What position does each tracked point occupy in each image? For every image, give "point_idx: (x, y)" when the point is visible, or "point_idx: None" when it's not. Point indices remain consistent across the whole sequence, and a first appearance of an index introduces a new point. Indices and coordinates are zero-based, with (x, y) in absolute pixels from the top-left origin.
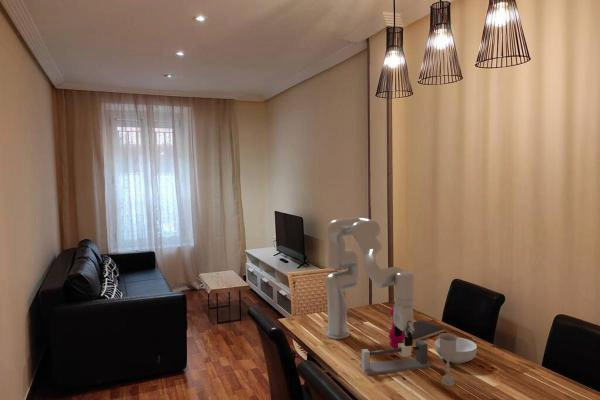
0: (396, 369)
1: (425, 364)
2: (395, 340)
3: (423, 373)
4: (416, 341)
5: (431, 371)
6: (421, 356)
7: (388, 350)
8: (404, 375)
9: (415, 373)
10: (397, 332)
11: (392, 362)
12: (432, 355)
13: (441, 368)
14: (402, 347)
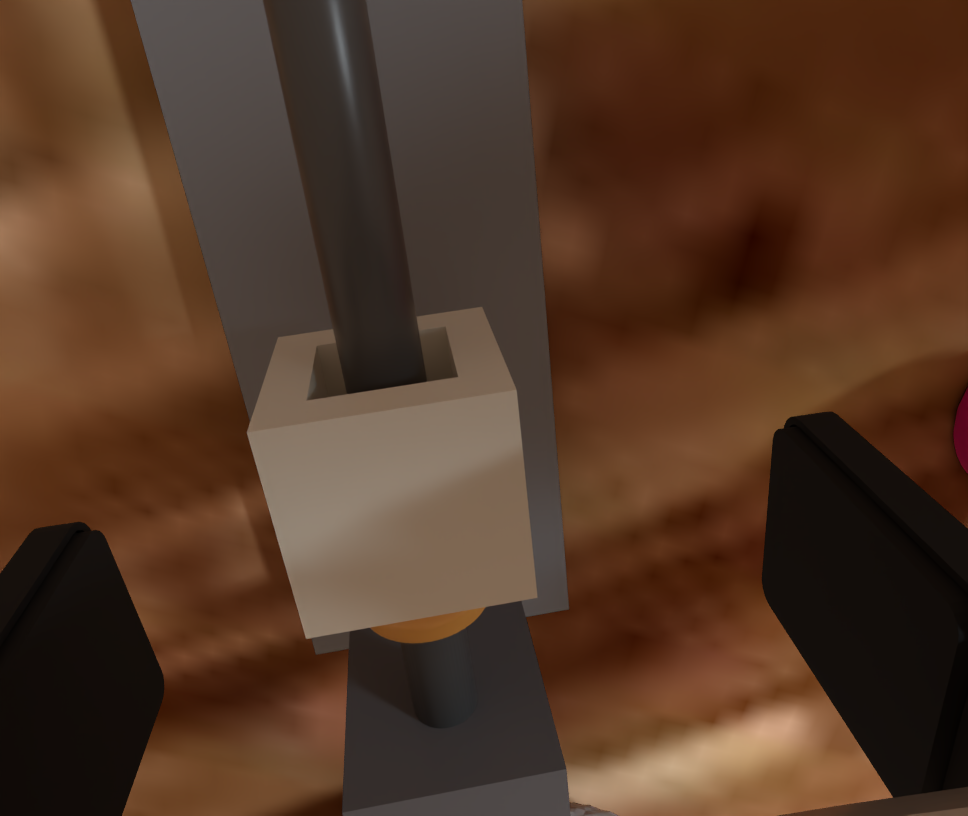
0: (171, 133)
1: None
2: None
3: (134, 511)
4: (534, 772)
5: (199, 612)
6: (352, 639)
7: (282, 2)
8: (40, 225)
9: (127, 410)
10: (833, 558)
11: (449, 144)
12: (627, 714)
13: (282, 724)
14: (251, 432)
